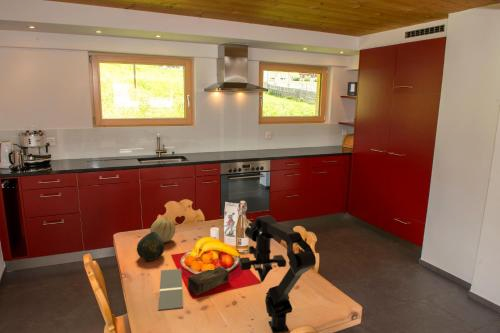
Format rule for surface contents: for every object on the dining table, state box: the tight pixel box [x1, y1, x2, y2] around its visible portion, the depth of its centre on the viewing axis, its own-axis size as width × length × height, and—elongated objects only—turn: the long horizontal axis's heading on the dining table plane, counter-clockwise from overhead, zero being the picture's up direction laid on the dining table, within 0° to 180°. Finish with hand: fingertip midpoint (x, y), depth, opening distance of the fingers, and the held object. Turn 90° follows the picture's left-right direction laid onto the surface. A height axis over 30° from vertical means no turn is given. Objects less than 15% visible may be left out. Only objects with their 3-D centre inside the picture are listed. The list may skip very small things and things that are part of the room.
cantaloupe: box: [149, 217, 176, 244], centre depth 208 cm, size 15×15×15 cm
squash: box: [136, 232, 165, 262], centre depth 187 cm, size 14×15×15 cm
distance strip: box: [157, 268, 184, 311], centre depth 158 cm, size 34×10×1 cm, turn 13°
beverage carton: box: [187, 265, 230, 296], centre depth 160 cm, size 8×19×7 cm, turn 133°
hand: (261, 281), depth 141 cm, fingers closed
